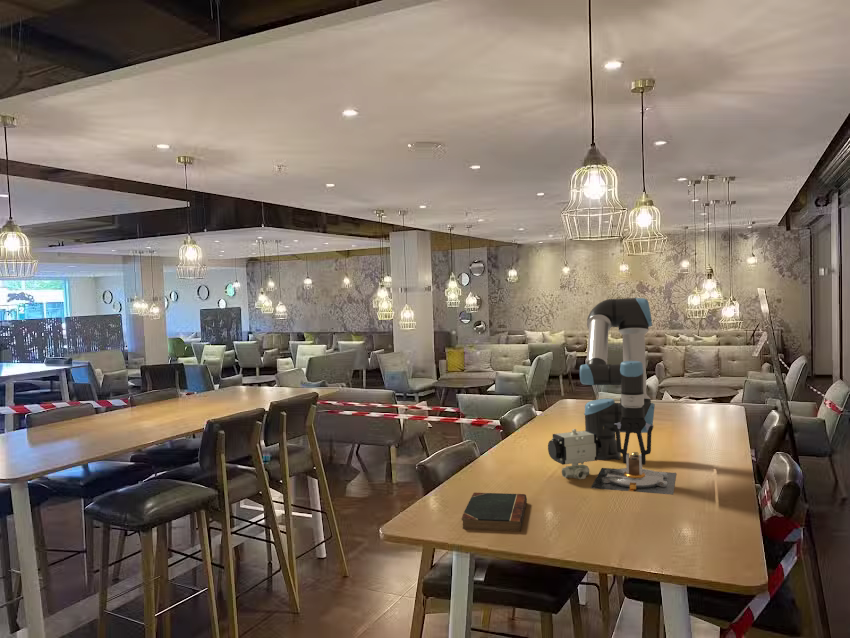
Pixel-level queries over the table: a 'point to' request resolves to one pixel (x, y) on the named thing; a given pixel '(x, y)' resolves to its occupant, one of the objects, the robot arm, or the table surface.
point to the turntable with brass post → (635, 478)
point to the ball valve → (574, 451)
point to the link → (634, 464)
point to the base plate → (656, 489)
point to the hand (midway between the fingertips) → (634, 473)
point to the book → (495, 511)
